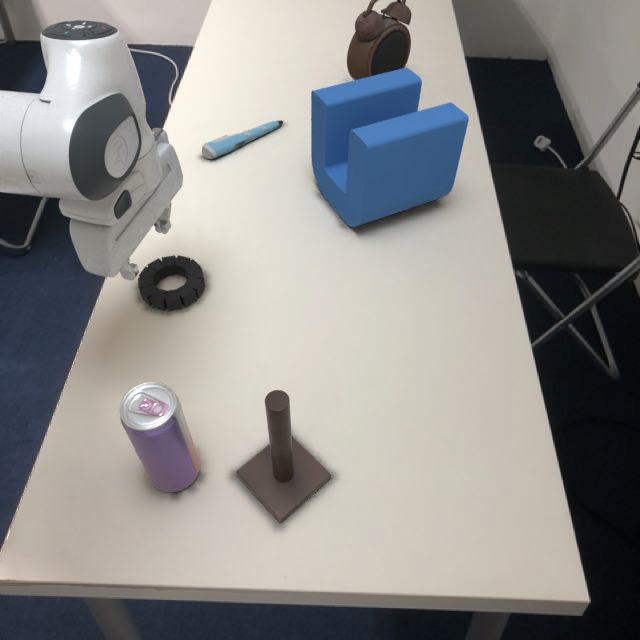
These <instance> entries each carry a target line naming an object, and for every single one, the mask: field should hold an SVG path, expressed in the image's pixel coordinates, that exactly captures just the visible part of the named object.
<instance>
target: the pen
mask: <svg viewBox="0 0 640 640" xmlns="http://www.w3.org/2000/svg"><path fill="white" fill-rule="evenodd" d="M283 124H284V120H273V121H270V122H269V121H268V122H266V123H264V124H260V125H258V126H255V127H253V128H249V129H247V130H244V131H241V132H238V133H234V134H230V135H228V134H225V135H222V136H220V137H218V138H215V139H213V140H211V141H209V142H205V143H203V144H202V145H201V154H202V155H201V156H203V157H204V159H209V160H212V159H215V158H216V159H217V158H218V157H220V156H224V155H226V154H227V153H230V152H233V151H234V150H237V149H238V148H240V147H242V146H244V145H246V144H248V143H249V142H252V141H254V140H256V139H257V138H260V137H262V136H264V135H266V134H268V133H270V132H272V131H274V130H275V129H277V128H279V127H280V126H282V125H283Z"/></svg>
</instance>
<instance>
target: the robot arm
mask: <svg viewBox="0 0 640 640" xmlns="http://www.w3.org/2000/svg"><path fill="white" fill-rule="evenodd" d="M39 38H40V47H41V52H42V57H43V61H44V65H45V68H46V79H45V82H44V86H43V88H42V89H41V91H40V93H34V92H24V91H12V90H2V89H0V193H5V194H14V195H21V196H22V195H23V196H33V197H42V198H54V199H59V202H58V207H59V211H60V213H61V214H62V215H63V216H64V217H67V218H70V221H69V234H70V238H71V241H72V245H73V247H74V250H75V252H76V254H77V258H78V259H79V262H80V264H81V267H83V269H84V270H85V271H86V272H87V273H90V274H93V275H96V276H100V277H105V278H116V277H117V275H119V273H120V275H121V278H123V279H124V280H128V281H131V282H132V281H133V282H134V281H135V279H136V277H137V276H139V274H140V271H139V267H138V264H137V263H134V262H132V263H130V261H131V259H130V257H131V256H132V255H133V254H134V252H135V251H136V250H137V249H138V247H139V246H140V245H141V243H142V242H143V240H144V239H145V237H147V234H148V233H149V232H150V230H151V229H152V228H153V227H154V230H155V231H156V233H158V234H163V235H167V234H168V232H169V231H170V230H171V228H172V223H171V212H172V205H173V203H172V200H174V198H175V197H176V195H177V194H178V193H179V191H180V190H181V188H182V187H183V184H184V183H183V182H184V174H183V170H182V166H181V163H180V160H179V156H178V154H177V151H176V149H175V147H174V146H173V145H172V144H171V143H170V141H169V136H168V132H167V131H166V130H165V129H164V128H162V127H154V128H151V127H150V125H149V124H148V121H147V117H146V113H147V105H146V104H147V102H146V99H145V94H144V91H143V87H142V83H141V80H140V76H139V73H138V70H137V66H136V64H135V61H134V58H133V56H132V53H131V49H130V48H129V45H128V43H127V41H126V39H125V37H124V35H123V34H122V32H121V31H120V30H119V29H118V28H116V27H115V26H113V25H111V24H109V23H106V22H103V21H94V20H82V19H81V20H79V19H77V20H70V21H68V20H64V21H59V22H56V23H53V24H50V25H49V26H47V27H45V28H44V29H42V31H41V32H40V35H39Z"/></svg>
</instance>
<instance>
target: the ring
mask: <svg viewBox="0 0 640 640" xmlns="http://www.w3.org/2000/svg"><path fill="white" fill-rule="evenodd" d="M171 276H180V277H184V278H186V279H187V280H186V282H185V283H184V284H182V285H181V286H179V287H177V288H175V289H168V290H167V289H162V288H158V287H157V286H158V284H159V282H160V281H162V280H164V279H165V278H167V277H171ZM137 285H138V286H137V287H138V290H139V293H140V296H141V298H142V300H143V301H144V302H145V303H146V305H148V306H149V307H152V309H156V310H159V311H164V312H165V311H168V312H172V311H178V310H182V309H183V307H184V308H188V307H189V306H191V305H193V304H194V303H196V302H197V301H198V299H200V298H201V296H202V295H203V293H204V291H205V288H206V283H205V276H204V272H203V268H202V267H201V265H200V264H199V263H198V262H197V261H195V259H193V258H192V259H191V257H188V256H183V255H176V254H175V255H168V256H162V257H161V258H157V259H155V260H152V261H151V262H149V263H147V265H146V266H144V267H143V269H142V270H141V271H140V272H139V274H138V277H137Z"/></svg>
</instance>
